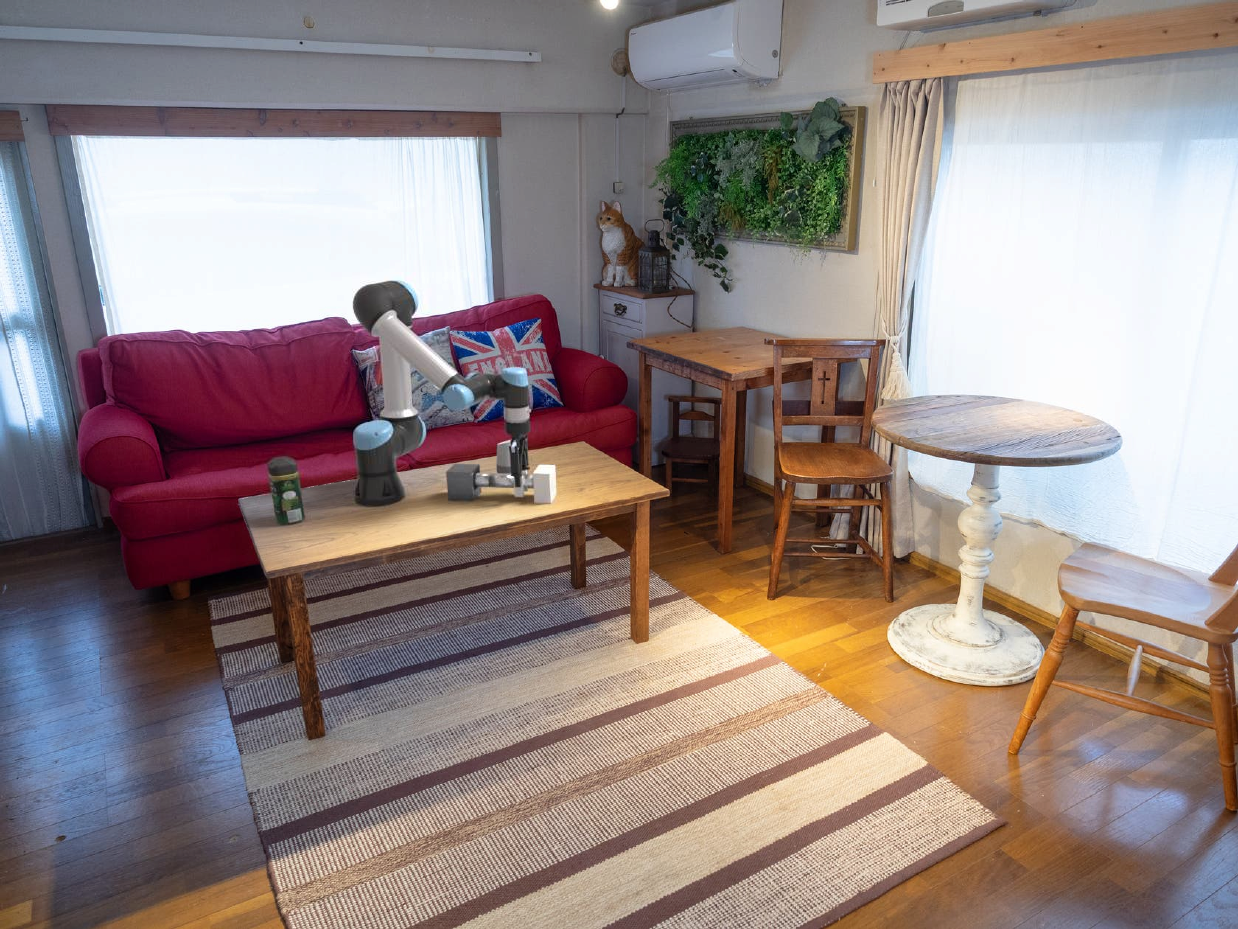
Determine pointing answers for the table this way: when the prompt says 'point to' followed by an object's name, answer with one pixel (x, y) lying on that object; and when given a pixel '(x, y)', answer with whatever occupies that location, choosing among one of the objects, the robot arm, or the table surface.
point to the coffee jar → (286, 490)
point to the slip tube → (500, 480)
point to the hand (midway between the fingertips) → (521, 493)
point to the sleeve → (462, 482)
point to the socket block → (544, 484)
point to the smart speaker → (503, 457)
